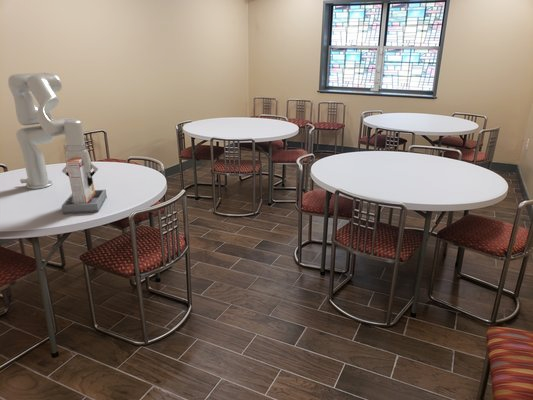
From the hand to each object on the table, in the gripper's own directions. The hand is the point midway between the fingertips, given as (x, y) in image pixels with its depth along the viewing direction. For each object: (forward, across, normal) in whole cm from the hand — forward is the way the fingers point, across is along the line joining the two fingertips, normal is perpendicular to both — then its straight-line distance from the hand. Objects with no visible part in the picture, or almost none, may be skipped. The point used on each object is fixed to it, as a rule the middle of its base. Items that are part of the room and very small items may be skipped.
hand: (82, 185), depth 190 cm
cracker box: (+7, 0, 0) cm, 7 cm away
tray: (+10, 0, 0) cm, 10 cm away
